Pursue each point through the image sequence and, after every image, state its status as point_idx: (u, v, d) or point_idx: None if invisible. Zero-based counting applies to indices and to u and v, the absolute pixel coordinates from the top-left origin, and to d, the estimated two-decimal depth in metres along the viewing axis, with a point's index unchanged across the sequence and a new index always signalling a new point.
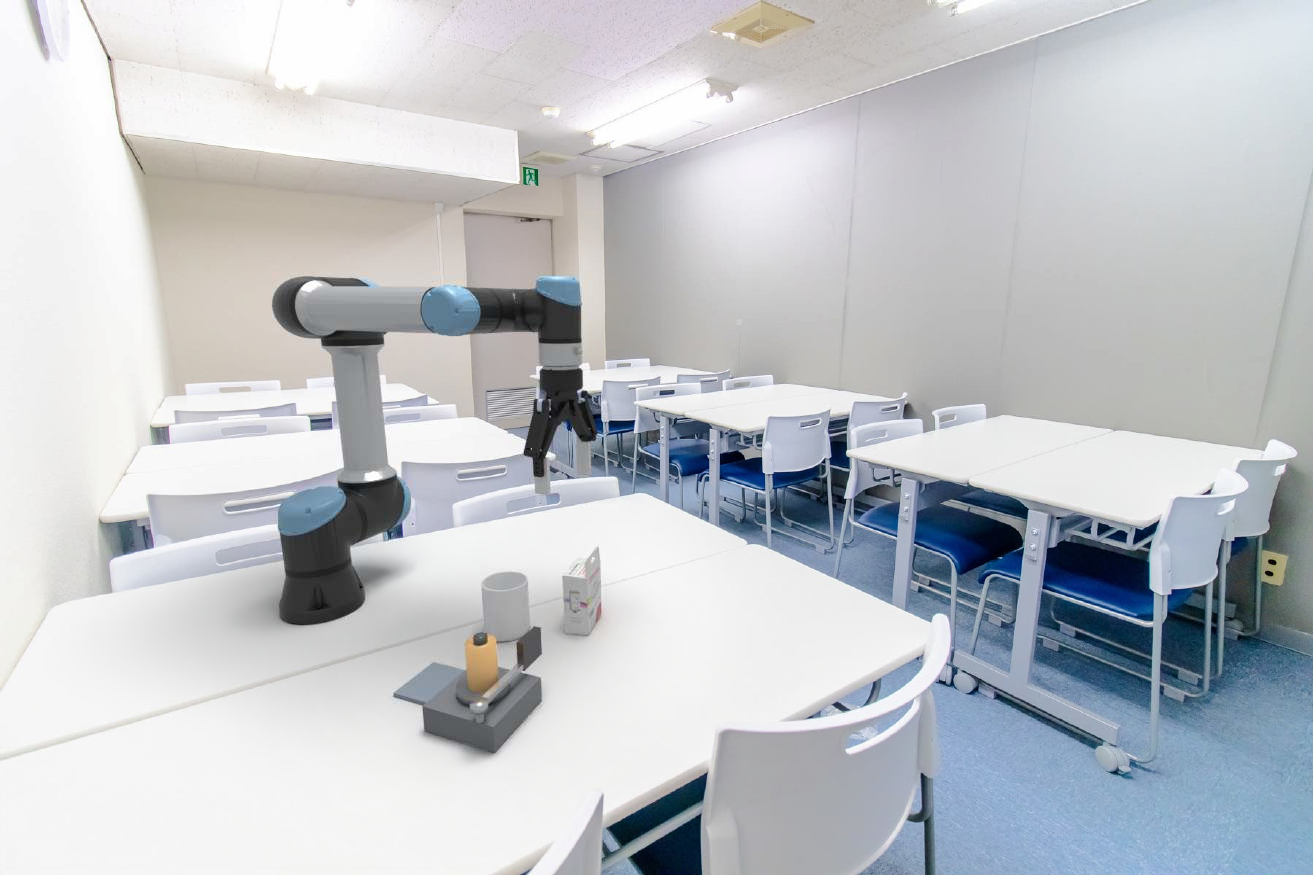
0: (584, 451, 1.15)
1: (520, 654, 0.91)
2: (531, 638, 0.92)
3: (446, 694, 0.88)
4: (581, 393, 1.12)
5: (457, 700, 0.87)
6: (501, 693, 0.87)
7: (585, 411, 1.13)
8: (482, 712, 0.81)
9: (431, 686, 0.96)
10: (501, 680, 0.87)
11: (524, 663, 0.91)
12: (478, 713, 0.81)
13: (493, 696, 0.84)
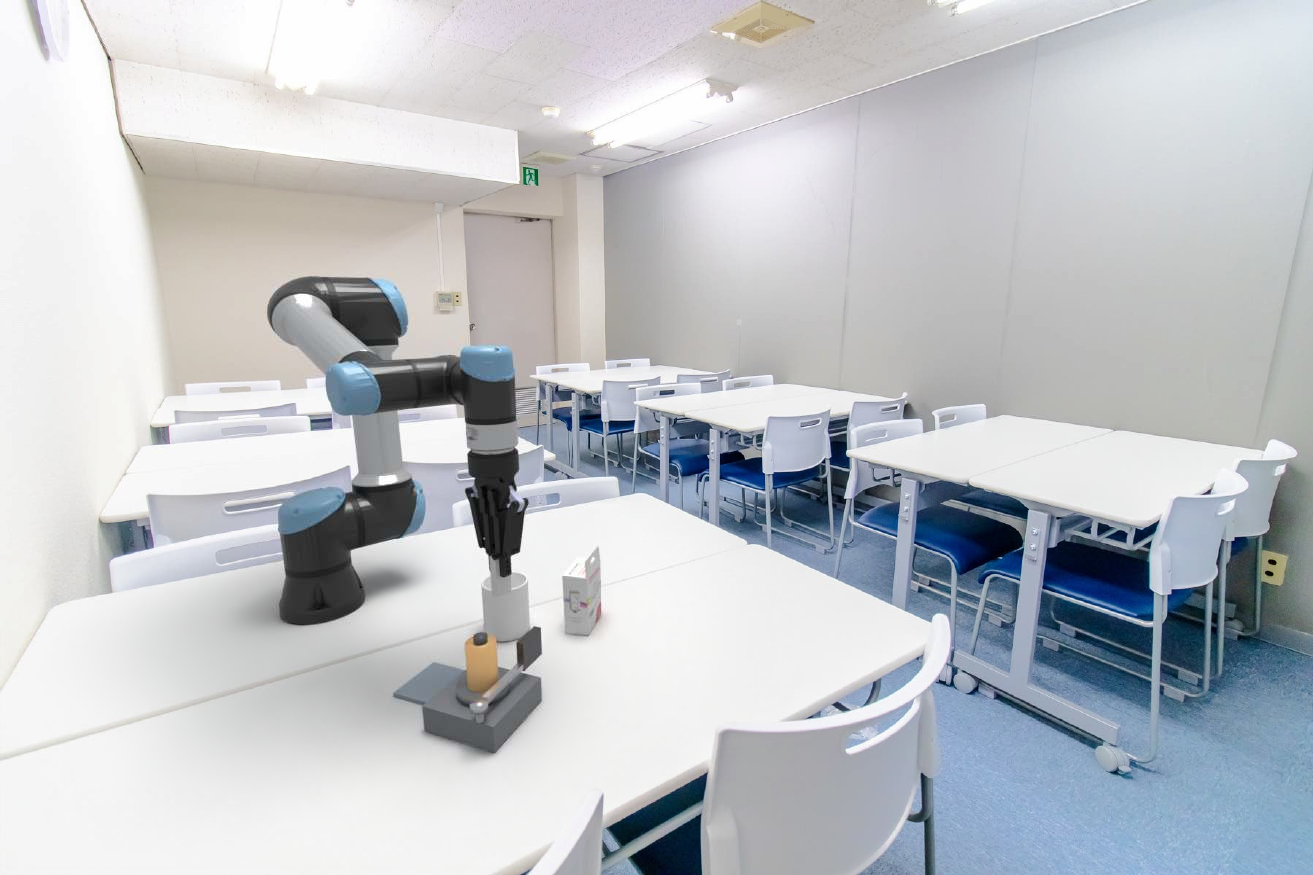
0: None
1: (520, 654, 0.91)
2: (531, 638, 0.92)
3: (446, 694, 0.88)
4: (514, 500, 0.89)
5: (457, 700, 0.87)
6: (501, 693, 0.87)
7: None
8: (482, 712, 0.81)
9: (431, 686, 0.96)
10: (501, 680, 0.87)
11: (524, 663, 0.91)
12: (478, 713, 0.81)
13: (493, 696, 0.84)
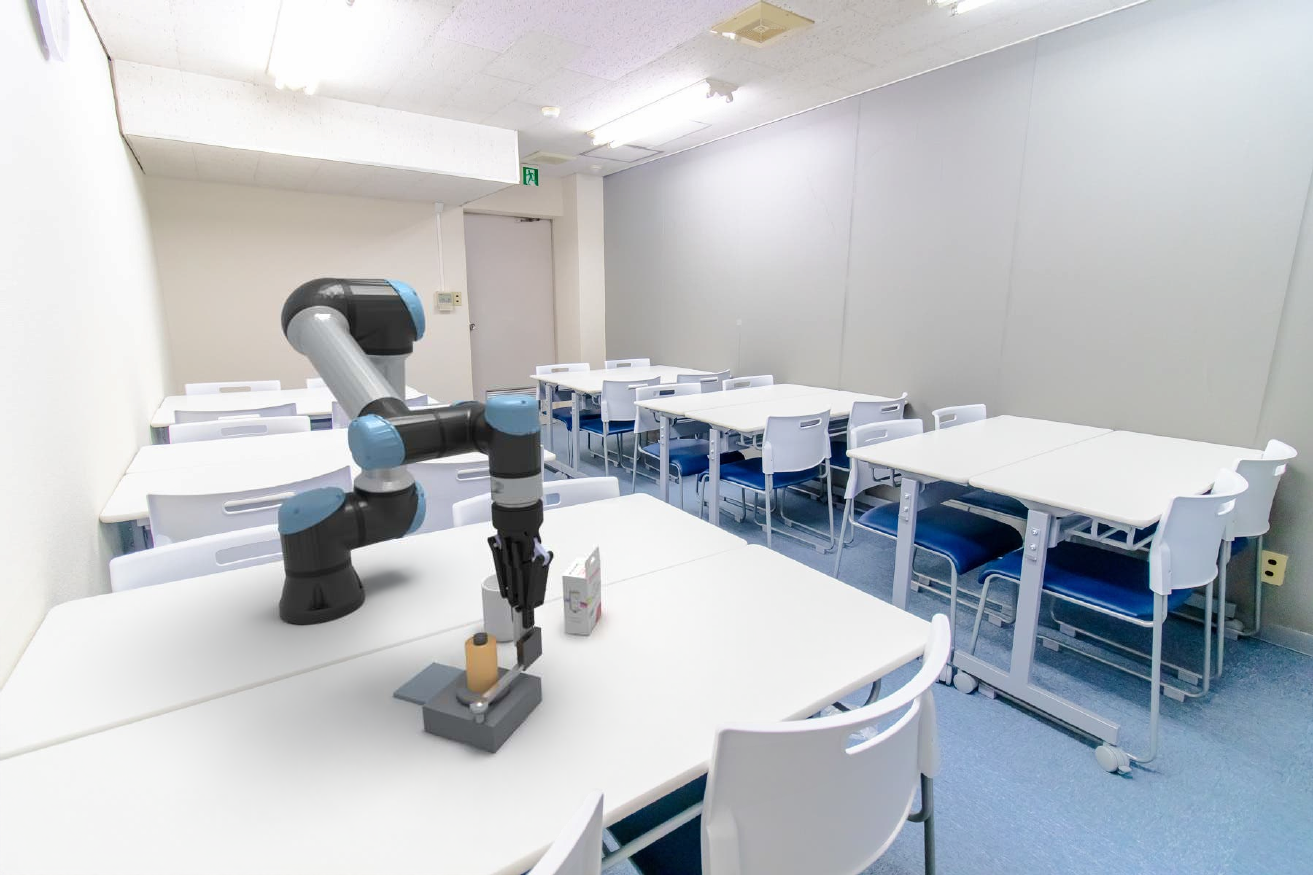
0: None
1: (520, 654, 0.91)
2: (531, 638, 0.92)
3: (446, 694, 0.88)
4: (539, 554, 0.88)
5: (457, 700, 0.87)
6: (501, 693, 0.87)
7: None
8: (482, 712, 0.81)
9: (431, 686, 0.96)
10: (501, 680, 0.87)
11: (524, 663, 0.91)
12: (478, 713, 0.81)
13: (493, 696, 0.84)
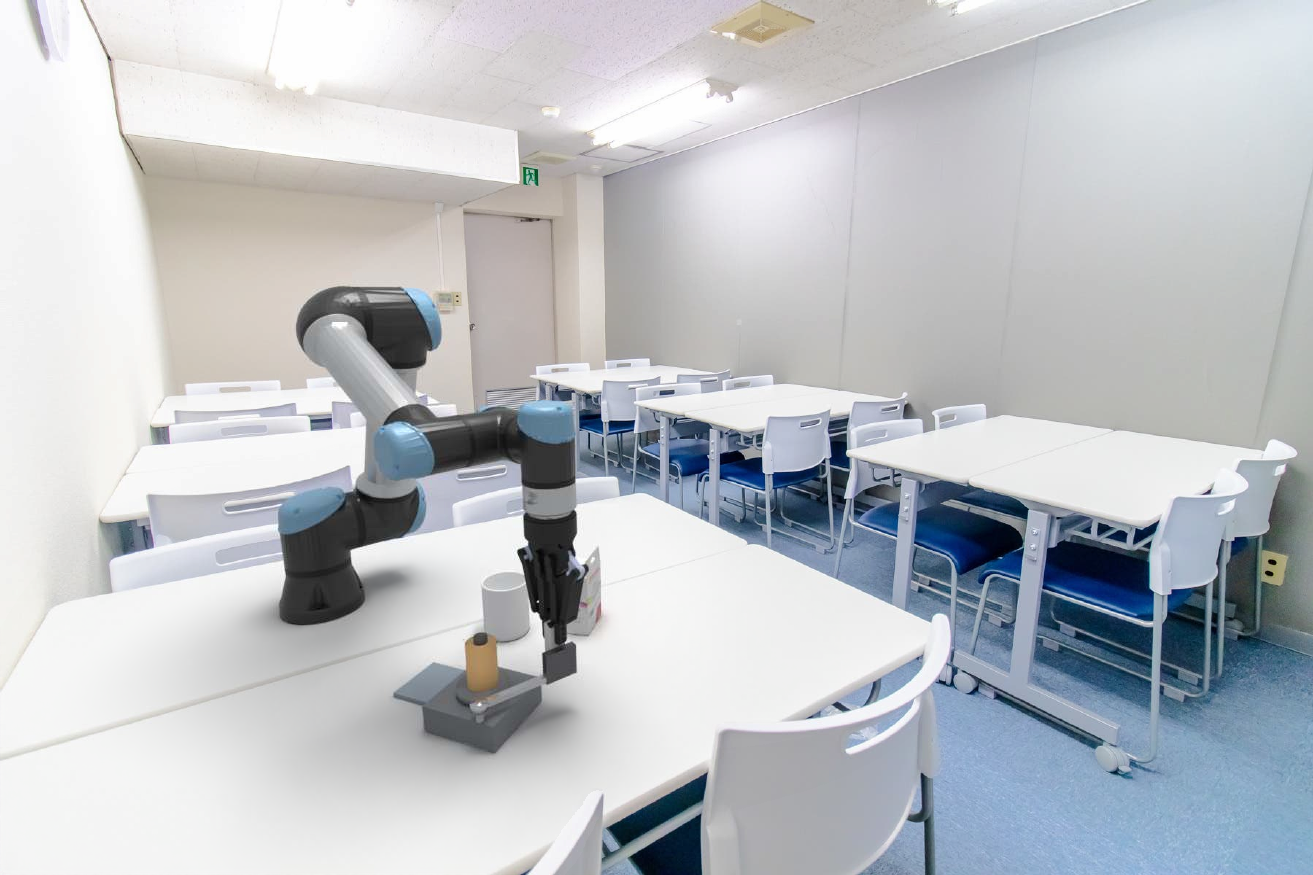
0: None
1: (544, 666, 0.88)
2: (559, 653, 0.88)
3: (446, 694, 0.88)
4: (574, 568, 0.84)
5: (457, 700, 0.87)
6: None
7: None
8: (477, 713, 0.81)
9: (431, 686, 0.96)
10: (514, 687, 0.85)
11: (547, 677, 0.88)
12: (473, 713, 0.81)
13: (498, 701, 0.83)
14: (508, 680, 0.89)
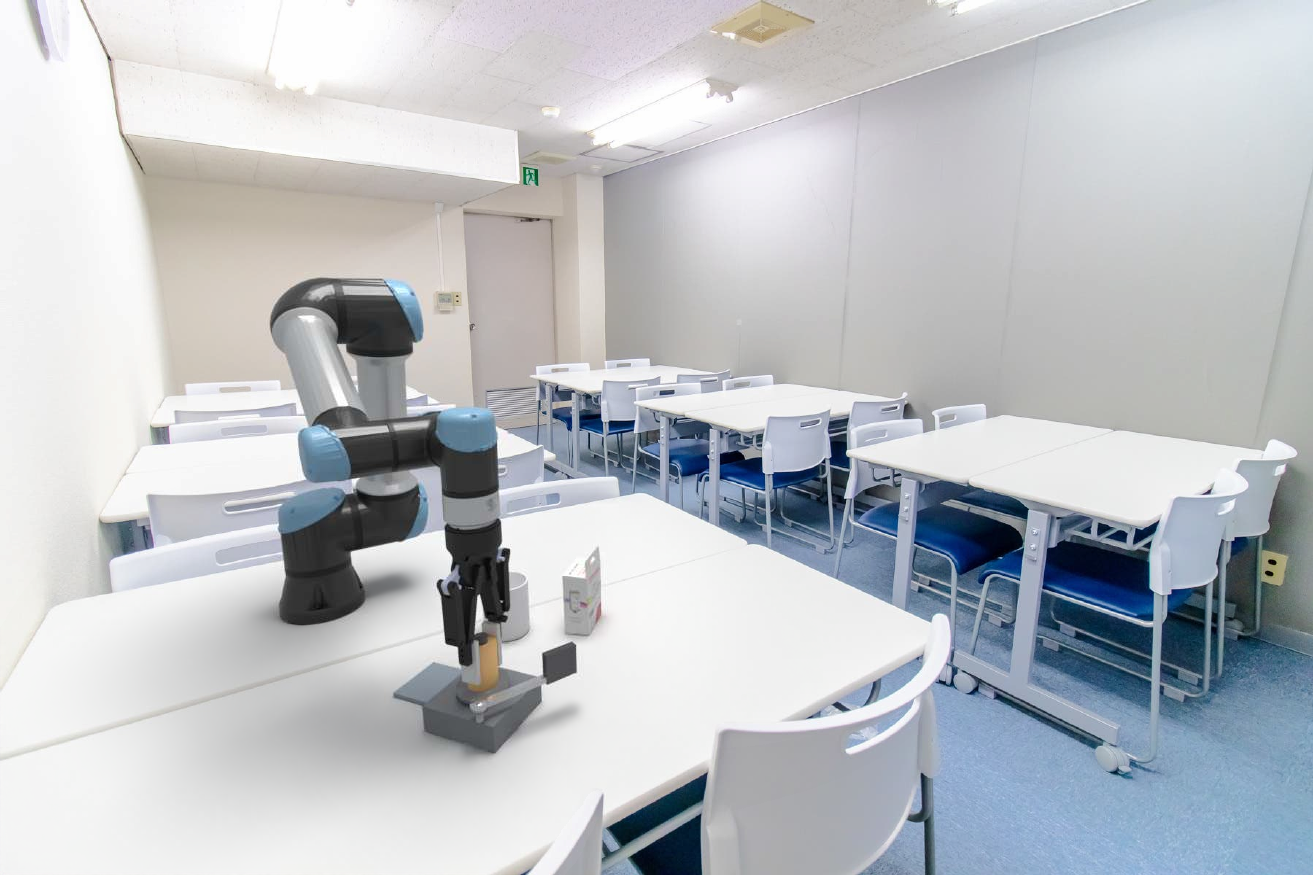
0: None
1: (544, 666, 0.88)
2: (559, 653, 0.88)
3: (446, 694, 0.88)
4: (502, 550, 0.90)
5: (457, 700, 0.87)
6: None
7: (501, 575, 0.90)
8: (477, 713, 0.81)
9: (431, 686, 0.96)
10: (514, 687, 0.85)
11: (547, 677, 0.88)
12: (473, 713, 0.81)
13: (498, 701, 0.83)
14: (508, 680, 0.89)
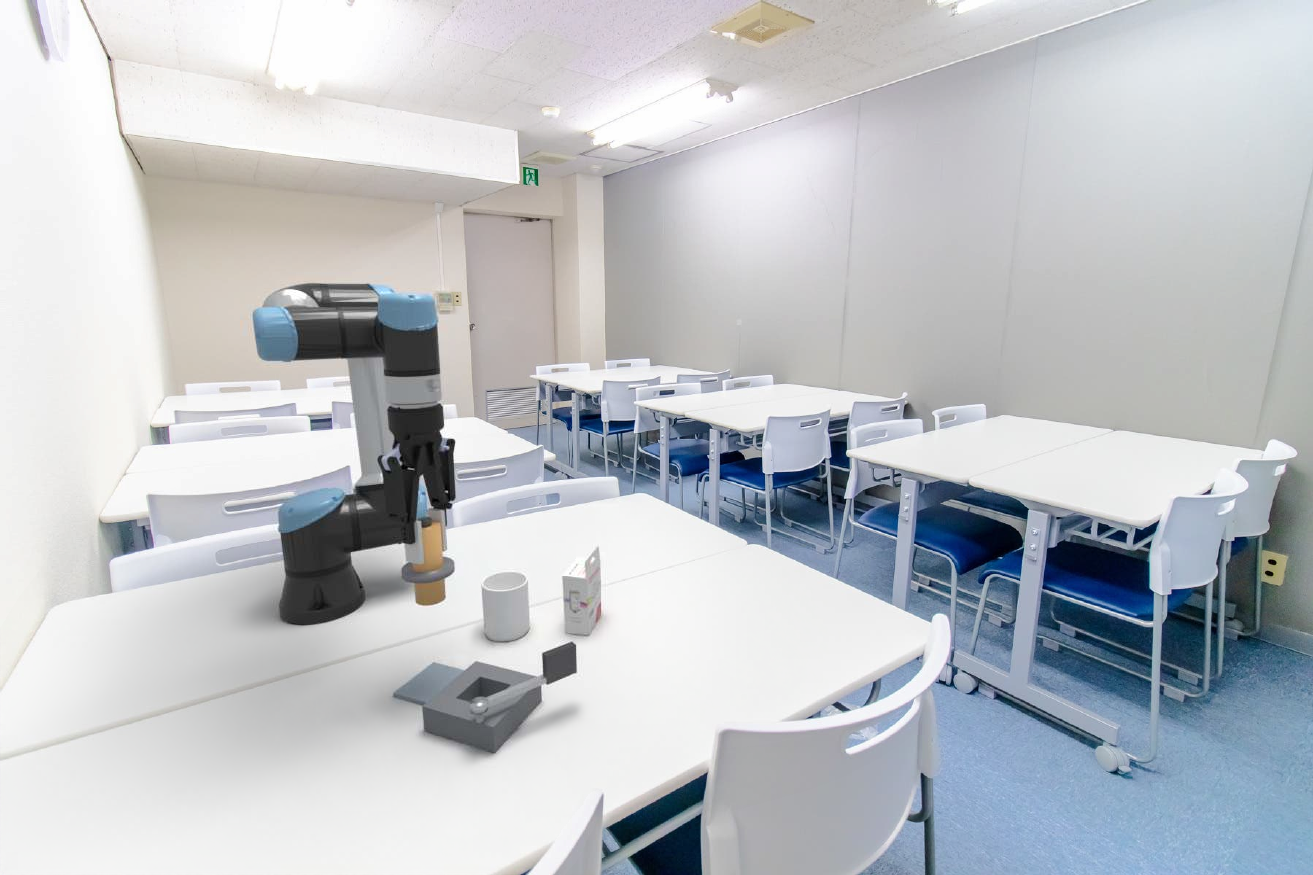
0: None
1: (544, 666, 0.88)
2: (559, 653, 0.88)
3: (446, 694, 0.88)
4: (447, 440, 0.93)
5: (457, 700, 0.87)
6: (444, 574, 0.90)
7: (446, 464, 0.93)
8: (477, 713, 0.81)
9: (431, 686, 0.96)
10: (514, 687, 0.85)
11: (547, 677, 0.88)
12: (473, 713, 0.81)
13: (498, 701, 0.83)
14: (452, 564, 0.93)
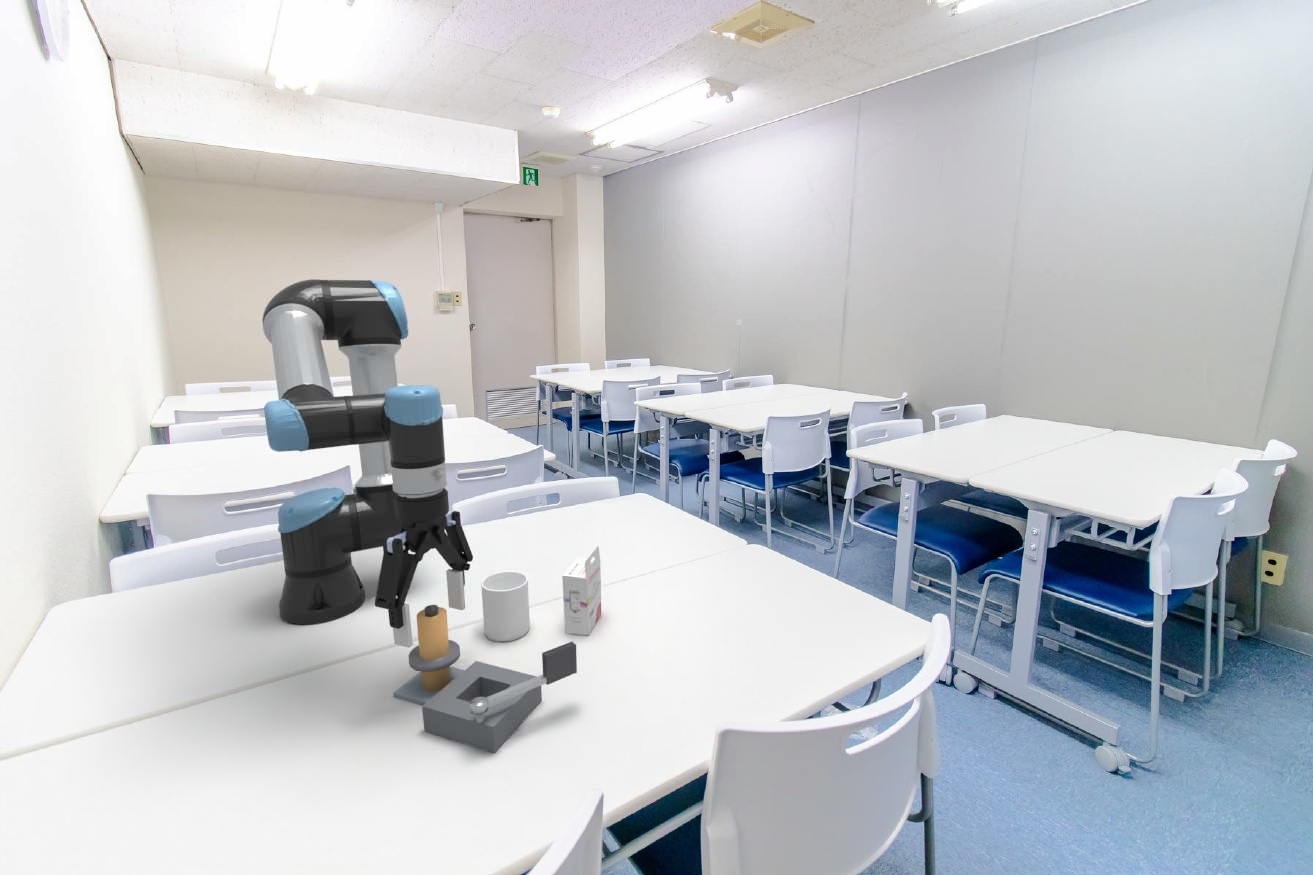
0: (455, 582, 0.98)
1: (544, 666, 0.88)
2: (559, 653, 0.88)
3: (446, 694, 0.88)
4: (451, 514, 0.96)
5: (457, 700, 0.87)
6: (450, 661, 0.93)
7: (456, 535, 0.97)
8: (477, 713, 0.81)
9: None
10: (514, 687, 0.85)
11: (547, 677, 0.88)
12: (473, 713, 0.81)
13: (498, 701, 0.83)
14: (458, 650, 0.96)
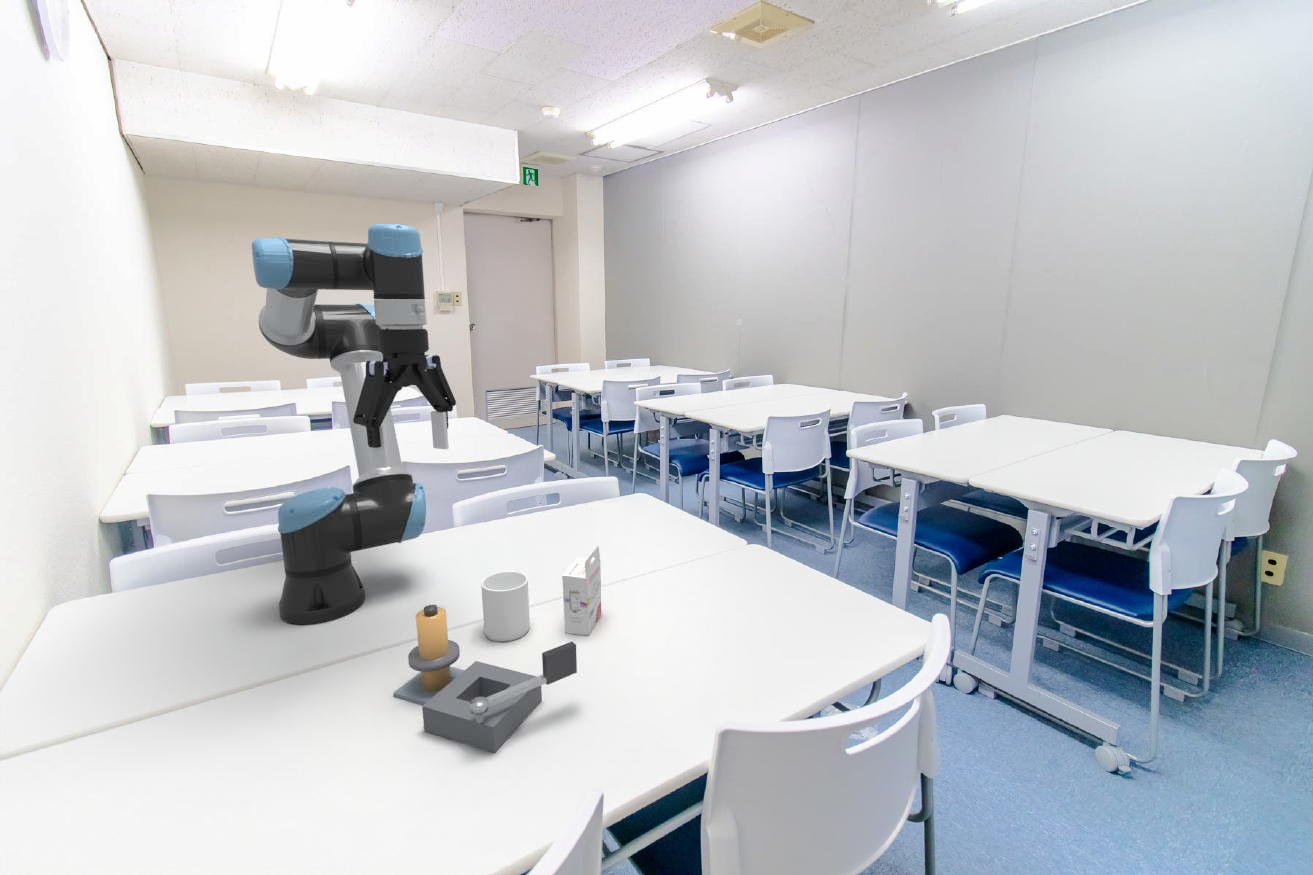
0: (439, 422, 1.05)
1: (544, 666, 0.88)
2: (559, 653, 0.88)
3: (446, 694, 0.88)
4: (432, 358, 1.02)
5: (457, 700, 0.87)
6: (449, 661, 0.93)
7: (438, 378, 1.04)
8: (477, 713, 0.81)
9: None
10: (514, 687, 0.85)
11: (547, 677, 0.88)
12: (473, 713, 0.81)
13: (498, 701, 0.83)
14: (457, 650, 0.96)
